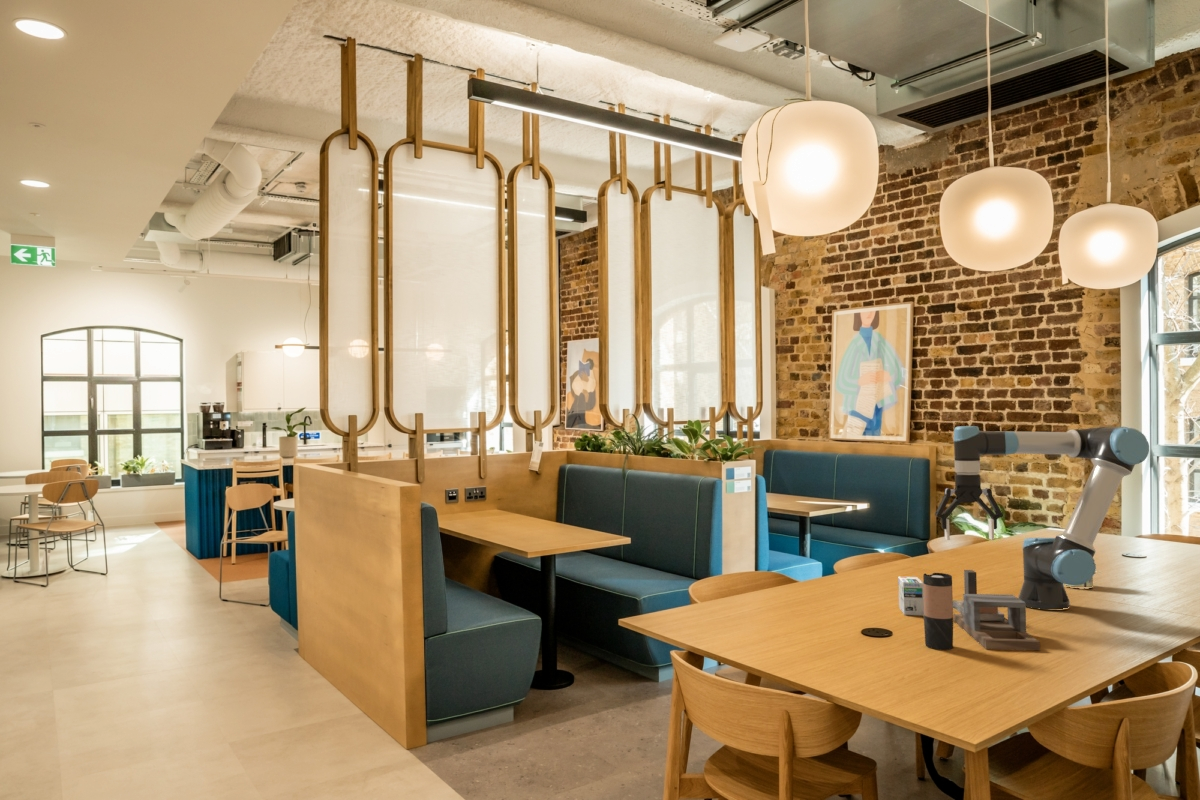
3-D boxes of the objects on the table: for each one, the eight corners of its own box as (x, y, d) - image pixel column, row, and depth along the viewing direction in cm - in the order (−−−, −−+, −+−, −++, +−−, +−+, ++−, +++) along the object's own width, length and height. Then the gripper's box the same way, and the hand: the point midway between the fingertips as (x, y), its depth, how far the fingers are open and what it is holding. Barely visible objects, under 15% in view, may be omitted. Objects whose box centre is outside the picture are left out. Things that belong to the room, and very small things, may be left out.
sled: (952, 606, 256) (952, 569, 256) (985, 607, 254) (984, 570, 254) (969, 620, 239) (968, 580, 239) (1004, 621, 237) (1003, 581, 238)
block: (991, 616, 245) (990, 599, 245) (998, 621, 239) (997, 604, 239) (967, 615, 246) (967, 599, 246) (973, 620, 240) (973, 603, 240)
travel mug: (951, 651, 216) (950, 578, 217) (922, 647, 220) (920, 576, 221) (955, 644, 223) (954, 574, 223) (926, 641, 227) (925, 571, 227)
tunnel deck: (954, 621, 248) (953, 586, 248) (1001, 623, 246) (1000, 587, 246) (985, 649, 218) (985, 609, 219) (1039, 650, 216) (1038, 610, 217)
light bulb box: (925, 616, 255) (924, 582, 255) (903, 615, 256) (903, 582, 257) (919, 608, 266) (918, 576, 266) (898, 607, 267) (897, 575, 267)
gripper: (1004, 472, 257) (1005, 537, 257) (924, 473, 261) (925, 537, 260) (1012, 474, 250) (1014, 541, 249) (930, 474, 253) (932, 540, 253)
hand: (969, 539), depth 255 cm, fingers open, 13 cm apart
